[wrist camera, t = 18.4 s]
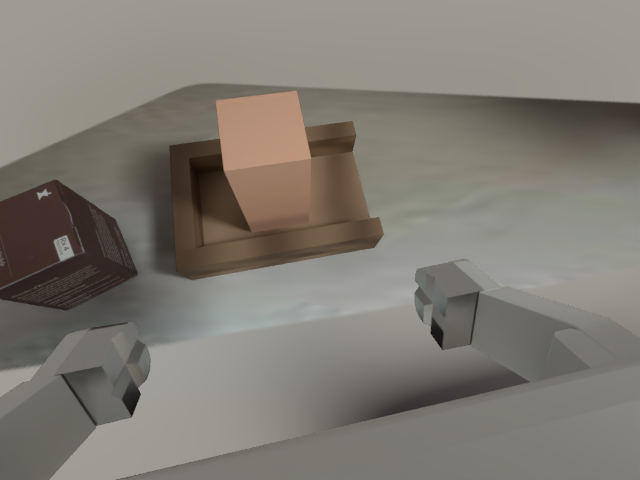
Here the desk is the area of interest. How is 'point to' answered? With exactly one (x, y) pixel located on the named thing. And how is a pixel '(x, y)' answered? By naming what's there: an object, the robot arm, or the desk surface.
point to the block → (266, 158)
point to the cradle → (275, 244)
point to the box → (59, 249)
